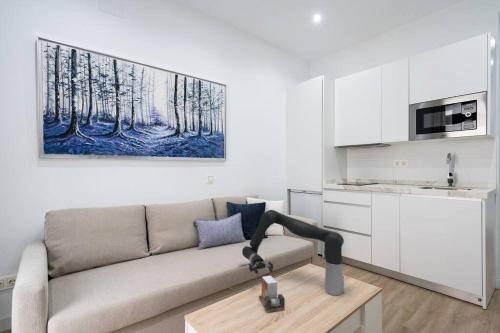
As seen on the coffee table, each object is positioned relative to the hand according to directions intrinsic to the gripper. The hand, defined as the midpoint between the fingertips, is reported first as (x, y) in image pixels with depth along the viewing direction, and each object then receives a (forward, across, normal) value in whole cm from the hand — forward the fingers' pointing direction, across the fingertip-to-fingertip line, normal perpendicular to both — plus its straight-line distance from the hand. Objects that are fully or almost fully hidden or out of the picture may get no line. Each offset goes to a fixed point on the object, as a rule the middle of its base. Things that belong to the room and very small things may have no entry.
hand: (264, 271), depth 139 cm
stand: (+13, -1, +11) cm, 17 cm away
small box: (+11, -1, +10) cm, 15 cm away
